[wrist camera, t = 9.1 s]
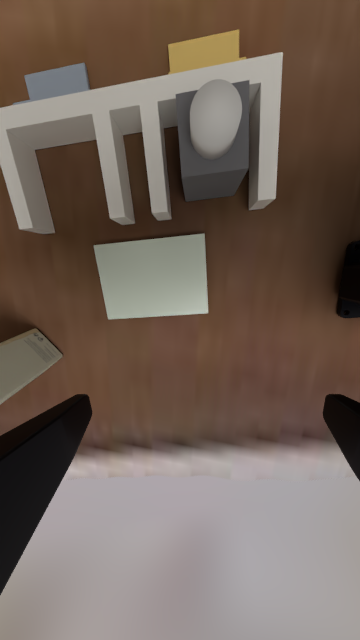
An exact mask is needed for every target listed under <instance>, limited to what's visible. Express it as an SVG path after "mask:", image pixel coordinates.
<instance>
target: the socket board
mask: <svg viewBox="0 0 360 640" xmlns="http://www.w3.org/2000/svg"><path fill="white" fill-rule="evenodd" d="M168 50H169V63H170V72H168V73H169V75H164V76H159V77H154V78H149V79H144V80H139V81H134V82H129V83H123V84H118V85H113V86H108V87H103V88H98V89H93V90H90V85H89V79H88V73H87V68H86V65H85V63H80V64H75V65H71V66H66V67H61V68H57V69H52V70H47V71H43V72H38V73H33V74H29V75H24V76H25V81H26V85H27V89H28V93H29V97H30V100H26V101H21V102H16V103H13V105H12V106H7V107H2V108H0V165H1V168H2V172H3V175H4V178H5V182H6V185H7V189H8V192H9V195H10V199H11V202H12V206H13V209H14V212H15V216H16V219H17V222H18V226H19V229H20V230H25V231H30V232H35V233H40V234H50V233H55V229H54V225H53V221H52V217H51V213H50V209H49V205H48V201H47V197H46V193H45V189H44V185H43V181H42V177H41V173H40V169H39V165H38V161H37V157H36V153H35V150H38V149H44V148H50V147H56V146H62V145H68V144H74V143H80V142H86V141H92V140H97V146H98V151H99V157H100V163H101V169H102V175H103V181H104V186H105V192H106V198H107V204H108V210H109V216H110V219H112V220H114V221H116V222H117V223H119V224H121V225H127V224H135V219H134V211H133V204H132V197H131V190H130V182H129V175H128V168H127V161H126V153H125V146H124V139H123V135H127V134H133V133H139V132H143V140H144V149H145V158H146V167H147V175H148V184H149V193H150V202H151V210H152V214H153V215H154V216H155V218H156V219H157V220H158V221H162V220H170V219H172V216H171V205H170V194H169V182H168V171H167V160H166V148H165V137H164V128H169V127H175V126H178V121H177V108H176V94H179V93H184V92H189V91H194V90H199V89H200V88H201V87H202V86H203V85H204V84H206V83H207V82H209V81H211V80H215V79H222V80H226V81H228V82H230V83H236V82H241V81H246V80H249V114H250V140H249V210H256V209H264V208H265V207H266V206H267V205H268V204H270V203H271V202H272V201H273V200H274V199H276V182H277V161H278V141H279V120H280V100H281V80H282V59H283V52H280V53H275V54H270V55H265V56H260V57H255V58H250V59H246V57H242V58H239V29H238V30H234V31H229V32H224V33H220V34H215V35H210V36H206V37H201V38H196V39H192V40H187V41H182V42H178V43H173V44H168Z"/></svg>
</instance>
